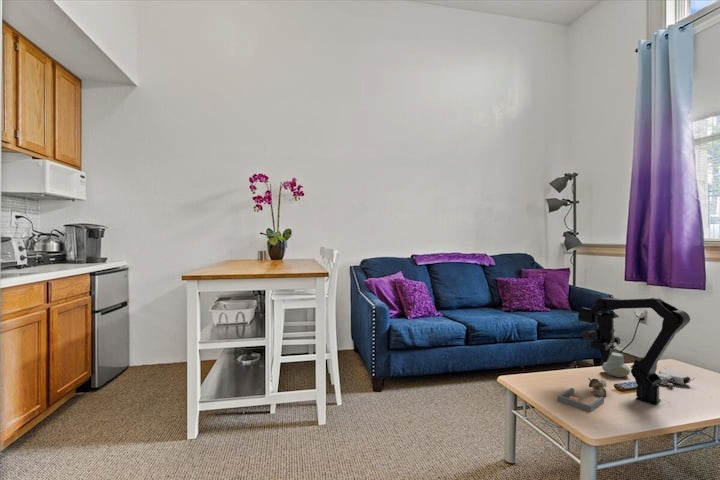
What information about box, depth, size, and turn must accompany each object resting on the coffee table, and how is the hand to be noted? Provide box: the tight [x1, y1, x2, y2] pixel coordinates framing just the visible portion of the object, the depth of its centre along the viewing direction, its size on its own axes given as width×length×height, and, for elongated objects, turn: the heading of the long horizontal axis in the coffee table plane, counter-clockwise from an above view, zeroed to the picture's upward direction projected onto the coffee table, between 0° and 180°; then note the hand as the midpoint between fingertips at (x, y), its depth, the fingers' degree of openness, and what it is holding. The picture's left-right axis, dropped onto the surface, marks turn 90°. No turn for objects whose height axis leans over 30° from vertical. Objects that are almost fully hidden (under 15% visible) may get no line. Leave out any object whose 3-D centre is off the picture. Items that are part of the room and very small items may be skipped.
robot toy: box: [656, 368, 696, 387], centre depth 165 cm, size 12×4×15 cm
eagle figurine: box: [588, 377, 608, 399], centre depth 153 cm, size 8×7×9 cm
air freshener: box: [601, 351, 631, 378], centre depth 174 cm, size 11×8×10 cm
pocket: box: [556, 387, 605, 413], centre depth 145 cm, size 12×13×3 cm
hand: (605, 362), depth 160 cm, fingers closed
